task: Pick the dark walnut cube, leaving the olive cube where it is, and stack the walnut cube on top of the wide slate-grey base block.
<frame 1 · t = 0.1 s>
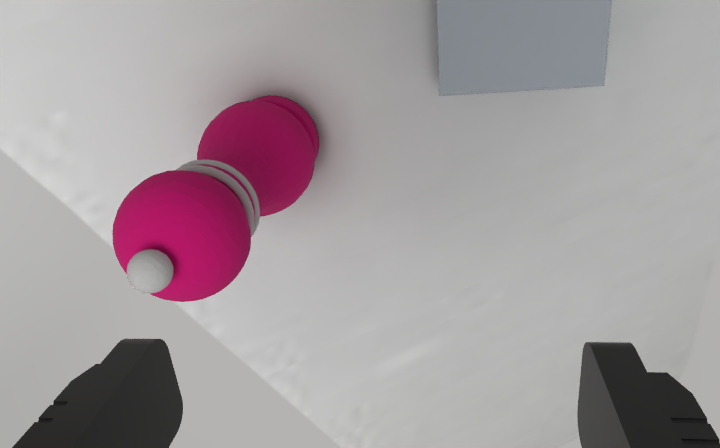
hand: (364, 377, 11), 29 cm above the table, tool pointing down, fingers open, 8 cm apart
pepper mill: (276, 138, 40), on the table
slate base block: (511, 0, 35), on the table
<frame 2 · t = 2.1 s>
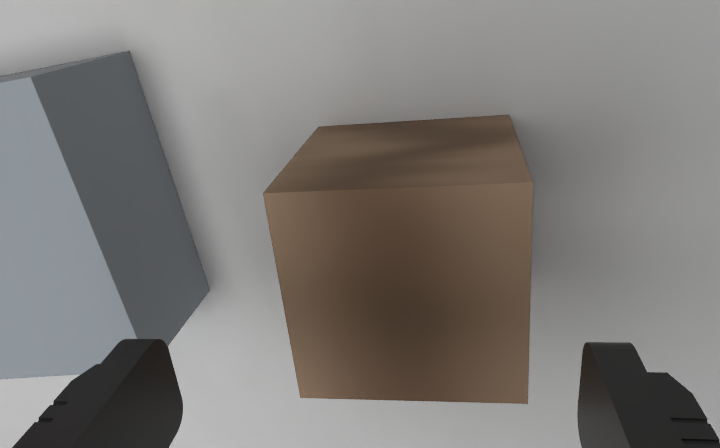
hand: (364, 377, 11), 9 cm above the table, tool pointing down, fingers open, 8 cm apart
walnut block: (416, 207, 19), on the table
slate base block: (67, 193, 21), on the table
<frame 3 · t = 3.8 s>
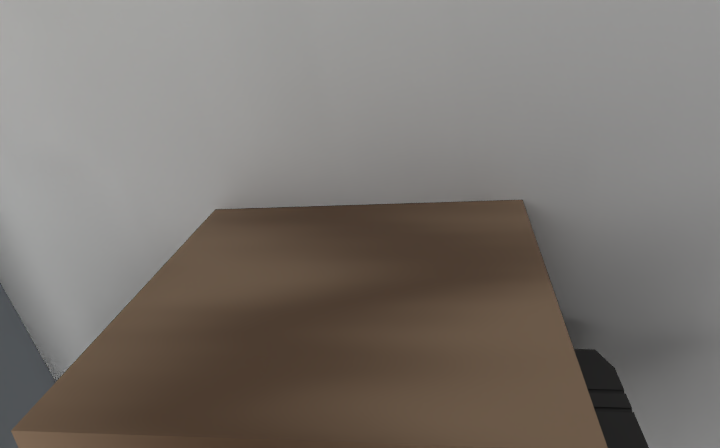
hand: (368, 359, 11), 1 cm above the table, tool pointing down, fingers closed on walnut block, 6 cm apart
walnut block: (374, 333, 12), on the table, touching gripper
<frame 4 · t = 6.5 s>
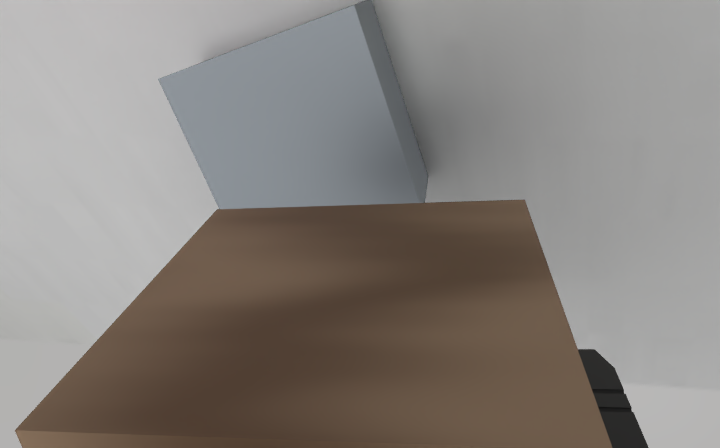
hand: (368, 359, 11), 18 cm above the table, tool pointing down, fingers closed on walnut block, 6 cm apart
walnut block: (376, 333, 12), point 18 cm above the table, touching gripper
slate base block: (318, 118, 29), on the table
when the fingers open (7 cm above the table, at t = 9.2 s): walnut block drops 2 cm, point 5 cm above the table.
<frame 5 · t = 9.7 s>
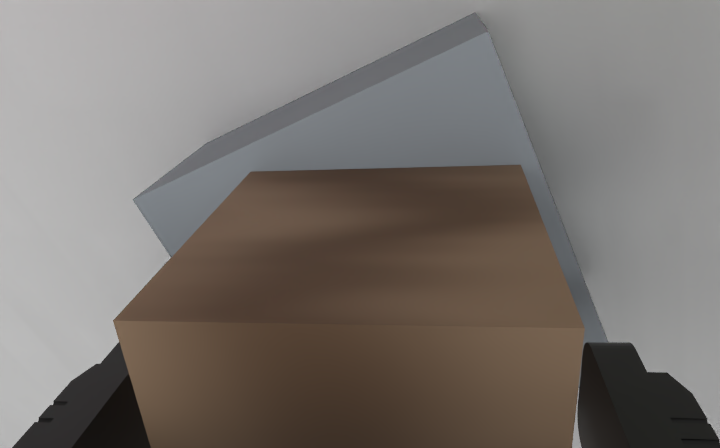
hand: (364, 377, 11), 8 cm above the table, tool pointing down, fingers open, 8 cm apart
walnut block: (387, 285, 14), point 5 cm above the table
slate base block: (394, 209, 18), on the table
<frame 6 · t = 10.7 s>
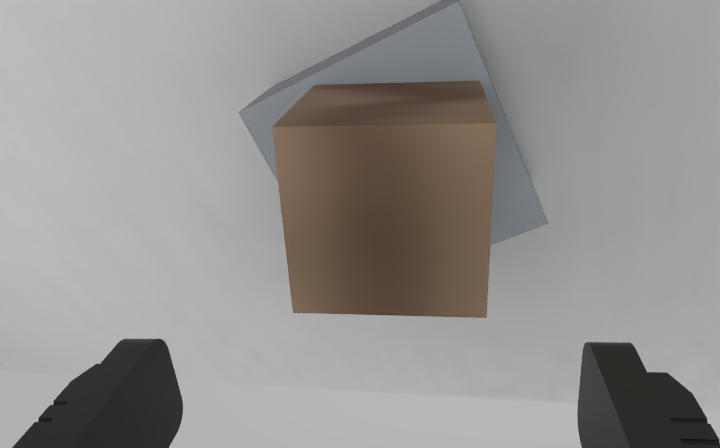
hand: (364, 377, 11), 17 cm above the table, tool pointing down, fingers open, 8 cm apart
walnut block: (397, 161, 22), point 5 cm above the table, touching slate base block
slate base block: (401, 133, 26), on the table, touching walnut block
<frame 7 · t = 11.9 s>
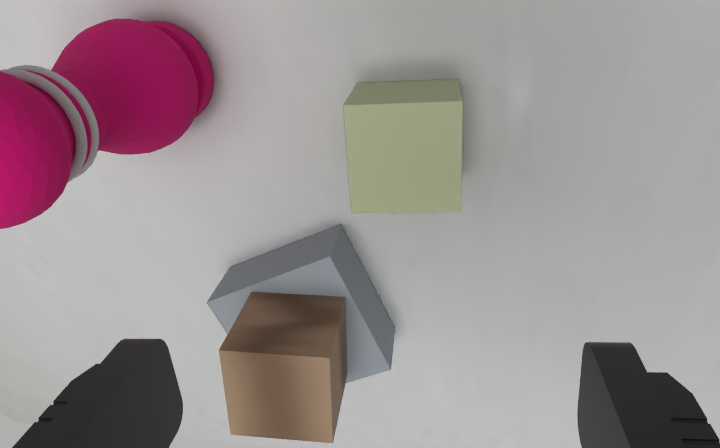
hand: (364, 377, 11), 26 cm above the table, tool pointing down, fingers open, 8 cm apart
olive block: (408, 129, 35), on the table
walnut block: (300, 333, 37), point 5 cm above the table, touching slate base block
pepper mill: (167, 73, 35), on the table
slate base block: (314, 295, 41), on the table, touching walnut block
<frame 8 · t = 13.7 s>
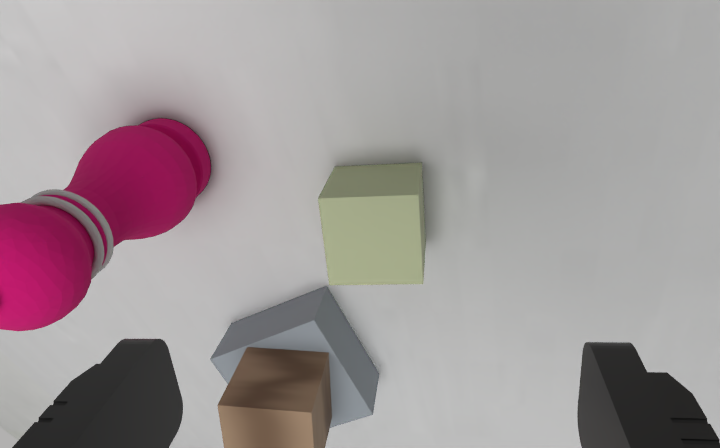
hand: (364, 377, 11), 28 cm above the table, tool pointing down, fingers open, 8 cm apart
olive block: (381, 204, 40), on the table
walnut block: (290, 382, 42), point 5 cm above the table, touching slate base block
pepper mill: (171, 159, 41), on the table
slate base block: (306, 346, 46), on the table, touching walnut block
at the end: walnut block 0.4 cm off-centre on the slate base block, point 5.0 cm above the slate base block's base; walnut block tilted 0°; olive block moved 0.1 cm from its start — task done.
